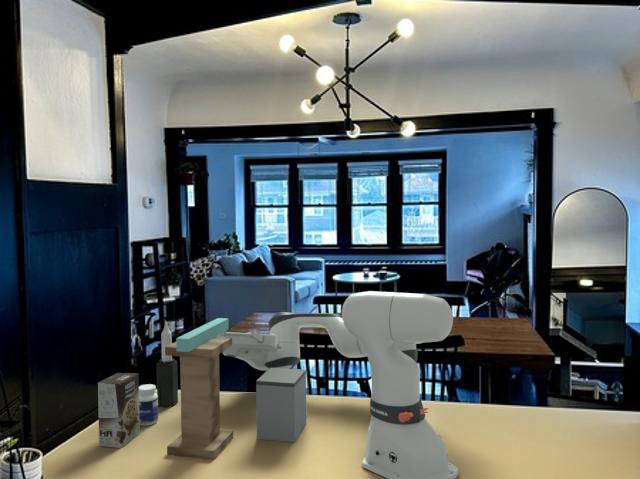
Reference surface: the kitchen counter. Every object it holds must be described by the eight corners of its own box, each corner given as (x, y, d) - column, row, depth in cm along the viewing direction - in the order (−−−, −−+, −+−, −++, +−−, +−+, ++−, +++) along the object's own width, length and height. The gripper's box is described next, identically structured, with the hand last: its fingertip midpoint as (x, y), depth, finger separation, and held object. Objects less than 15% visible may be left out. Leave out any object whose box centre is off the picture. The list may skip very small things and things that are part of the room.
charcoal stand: (271, 421, 151) (270, 367, 150) (306, 423, 149) (305, 369, 148) (256, 438, 139) (256, 380, 138) (294, 442, 137) (294, 383, 136)
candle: (155, 406, 162) (154, 323, 161) (163, 400, 167) (161, 320, 166) (172, 407, 162) (170, 323, 160) (179, 401, 167) (177, 320, 165)
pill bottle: (132, 425, 148) (131, 389, 148) (142, 417, 154) (141, 382, 153) (152, 426, 147) (151, 390, 147) (161, 418, 153) (161, 383, 152)
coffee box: (121, 448, 134) (120, 383, 133) (98, 446, 135) (96, 382, 134) (141, 433, 143) (139, 372, 142) (118, 431, 144) (117, 371, 143)
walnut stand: (189, 434, 142) (188, 335, 141) (233, 438, 139) (231, 337, 138) (167, 454, 130) (165, 347, 129) (214, 459, 128) (212, 349, 126)
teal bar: (218, 329, 148) (218, 318, 148) (228, 329, 148) (228, 318, 148) (176, 351, 125) (176, 338, 125) (188, 351, 124) (188, 338, 124)
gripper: (281, 358, 167) (269, 345, 155) (219, 355, 171) (202, 342, 159) (284, 338, 170) (273, 324, 158) (223, 335, 174) (207, 321, 162)
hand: (237, 333), depth 159 cm, fingers open, 8 cm apart
